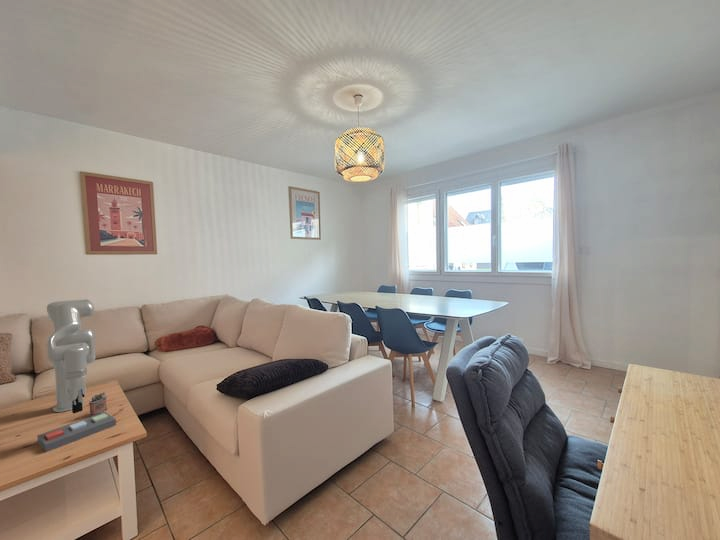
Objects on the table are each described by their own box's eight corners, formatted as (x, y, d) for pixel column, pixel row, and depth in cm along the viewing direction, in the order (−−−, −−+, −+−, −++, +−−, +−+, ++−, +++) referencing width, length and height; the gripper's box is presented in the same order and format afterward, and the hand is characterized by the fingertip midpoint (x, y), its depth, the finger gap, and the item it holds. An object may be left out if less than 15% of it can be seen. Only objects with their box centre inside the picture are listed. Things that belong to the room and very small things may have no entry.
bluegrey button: (69, 432, 138) (69, 425, 137) (83, 427, 142) (83, 420, 142) (73, 435, 135) (72, 428, 135) (87, 430, 139) (87, 423, 139)
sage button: (91, 424, 144) (91, 417, 144) (104, 419, 148) (104, 413, 148) (95, 427, 142) (95, 420, 142) (108, 422, 146) (108, 415, 146)
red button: (45, 441, 131) (44, 434, 131) (60, 436, 135) (60, 428, 135) (48, 445, 128) (47, 437, 128) (64, 439, 132) (63, 431, 132)
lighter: (92, 417, 153) (92, 398, 152) (87, 416, 153) (87, 397, 153) (109, 409, 161) (108, 391, 160) (104, 409, 161) (103, 391, 161)
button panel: (37, 441, 132) (37, 435, 132) (105, 417, 152) (104, 411, 152) (46, 452, 124) (45, 445, 124) (115, 425, 145) (115, 419, 145)
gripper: (60, 372, 138) (61, 410, 139) (70, 379, 131) (71, 420, 131) (81, 367, 145) (82, 404, 145) (92, 374, 137) (93, 412, 138)
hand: (77, 411), depth 138 cm, fingers closed
